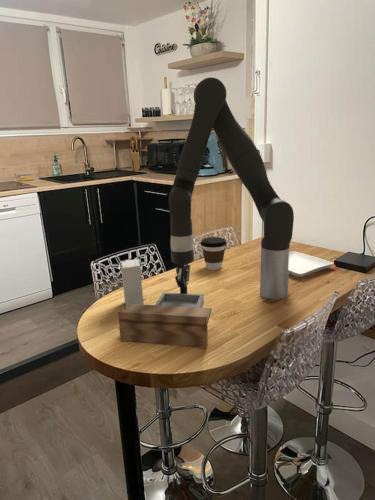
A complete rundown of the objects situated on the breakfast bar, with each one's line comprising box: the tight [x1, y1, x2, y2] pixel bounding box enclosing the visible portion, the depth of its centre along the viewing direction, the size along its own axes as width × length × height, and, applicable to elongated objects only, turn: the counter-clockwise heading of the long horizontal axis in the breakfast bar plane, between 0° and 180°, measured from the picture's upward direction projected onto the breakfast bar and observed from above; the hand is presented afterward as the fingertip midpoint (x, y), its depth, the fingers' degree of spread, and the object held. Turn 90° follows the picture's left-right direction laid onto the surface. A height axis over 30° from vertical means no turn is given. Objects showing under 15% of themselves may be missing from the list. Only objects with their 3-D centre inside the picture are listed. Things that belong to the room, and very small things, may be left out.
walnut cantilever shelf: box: [117, 304, 212, 349], centre depth 106 cm, size 24×10×9 cm, turn 79°
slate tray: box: [154, 292, 205, 308], centre depth 121 cm, size 14×18×3 cm
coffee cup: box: [199, 236, 228, 271], centre depth 160 cm, size 11×11×12 cm
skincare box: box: [120, 259, 145, 309], centre depth 126 cm, size 8×6×15 cm
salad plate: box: [288, 250, 335, 278], centre depth 158 cm, size 21×21×3 cm
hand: (184, 296), depth 131 cm, fingers closed
